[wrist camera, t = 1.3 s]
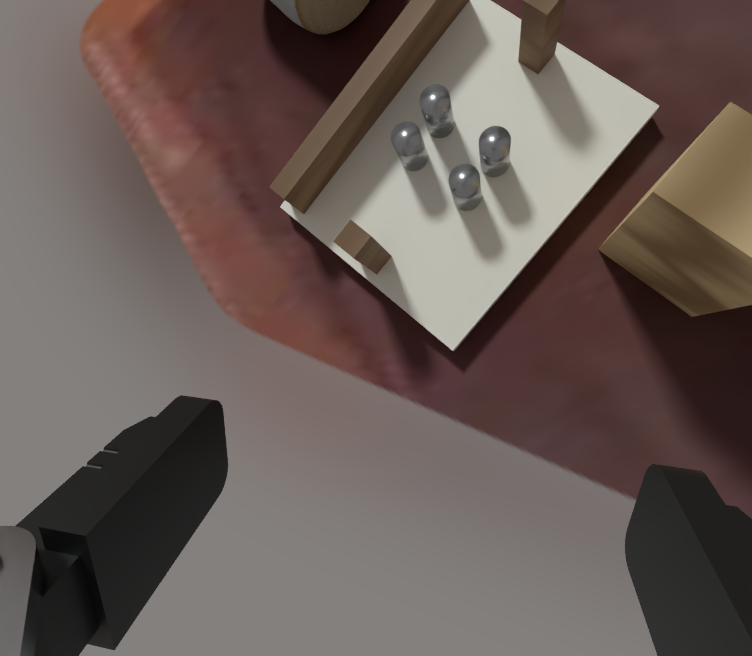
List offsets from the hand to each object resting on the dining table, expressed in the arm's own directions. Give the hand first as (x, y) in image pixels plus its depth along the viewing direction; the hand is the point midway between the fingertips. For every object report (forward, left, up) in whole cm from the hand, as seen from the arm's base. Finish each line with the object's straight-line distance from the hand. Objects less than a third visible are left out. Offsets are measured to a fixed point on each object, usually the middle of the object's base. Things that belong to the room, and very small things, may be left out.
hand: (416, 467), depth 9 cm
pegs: (-5, -13, -19) cm, 23 cm away
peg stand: (-5, -13, -20) cm, 24 cm away
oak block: (-13, -3, -20) cm, 24 cm away
